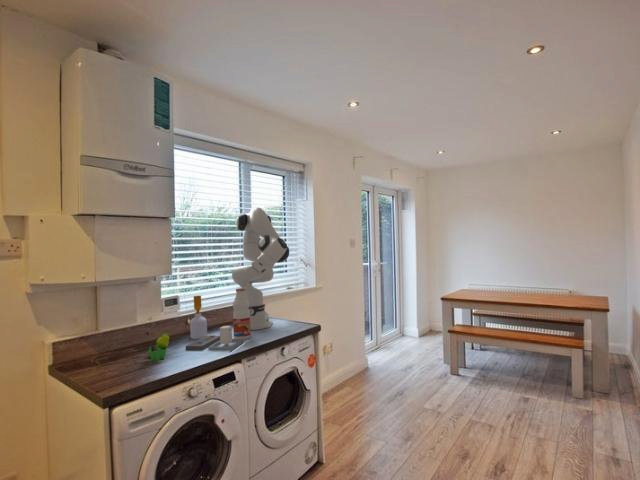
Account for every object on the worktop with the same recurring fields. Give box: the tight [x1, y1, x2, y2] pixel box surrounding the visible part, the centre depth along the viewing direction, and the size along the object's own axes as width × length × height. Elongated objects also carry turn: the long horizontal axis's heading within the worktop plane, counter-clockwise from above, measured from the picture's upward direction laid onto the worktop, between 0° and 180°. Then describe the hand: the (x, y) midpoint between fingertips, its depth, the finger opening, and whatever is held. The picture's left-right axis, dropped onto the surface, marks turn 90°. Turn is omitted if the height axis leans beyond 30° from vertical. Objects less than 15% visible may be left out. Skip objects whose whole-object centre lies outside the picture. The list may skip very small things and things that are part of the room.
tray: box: [207, 338, 244, 353], centre depth 187 cm, size 16×12×2 cm
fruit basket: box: [148, 333, 170, 363], centre depth 175 cm, size 11×9×11 cm
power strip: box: [185, 334, 220, 351], centre depth 192 cm, size 20×9×4 cm, turn 169°
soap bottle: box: [189, 295, 208, 340], centre depth 210 cm, size 9×9×25 cm
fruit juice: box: [232, 287, 252, 341], centre depth 204 cm, size 9×9×28 cm
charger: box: [219, 325, 233, 347], centre depth 187 cm, size 4×4×10 cm
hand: (246, 284), depth 191 cm, fingers open, 8 cm apart
